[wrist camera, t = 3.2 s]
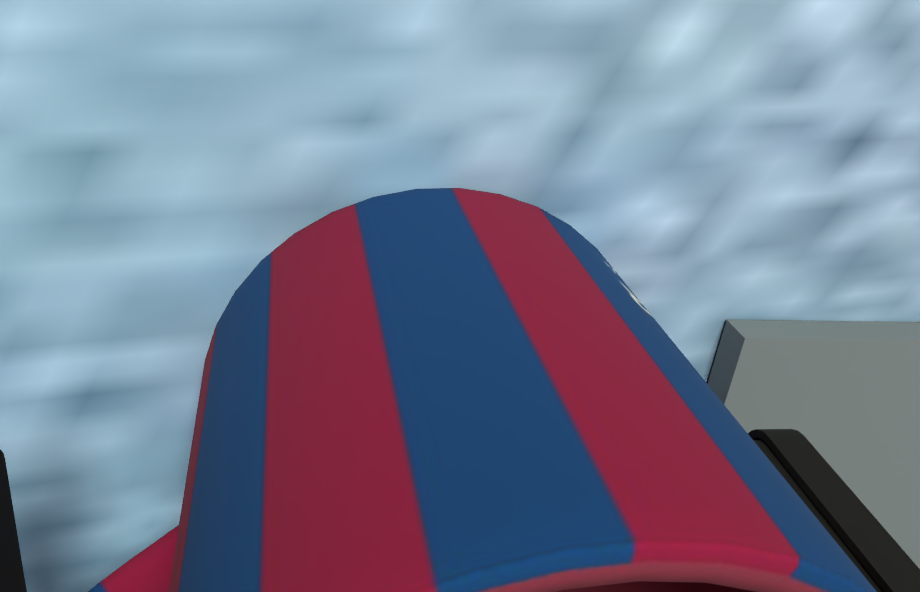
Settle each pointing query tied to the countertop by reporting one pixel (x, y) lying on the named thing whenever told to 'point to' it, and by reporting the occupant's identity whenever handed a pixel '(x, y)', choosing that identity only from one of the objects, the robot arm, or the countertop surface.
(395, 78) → the countertop surface
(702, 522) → the mug
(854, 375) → the rubber mat
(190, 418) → the countertop surface
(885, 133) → the countertop surface
